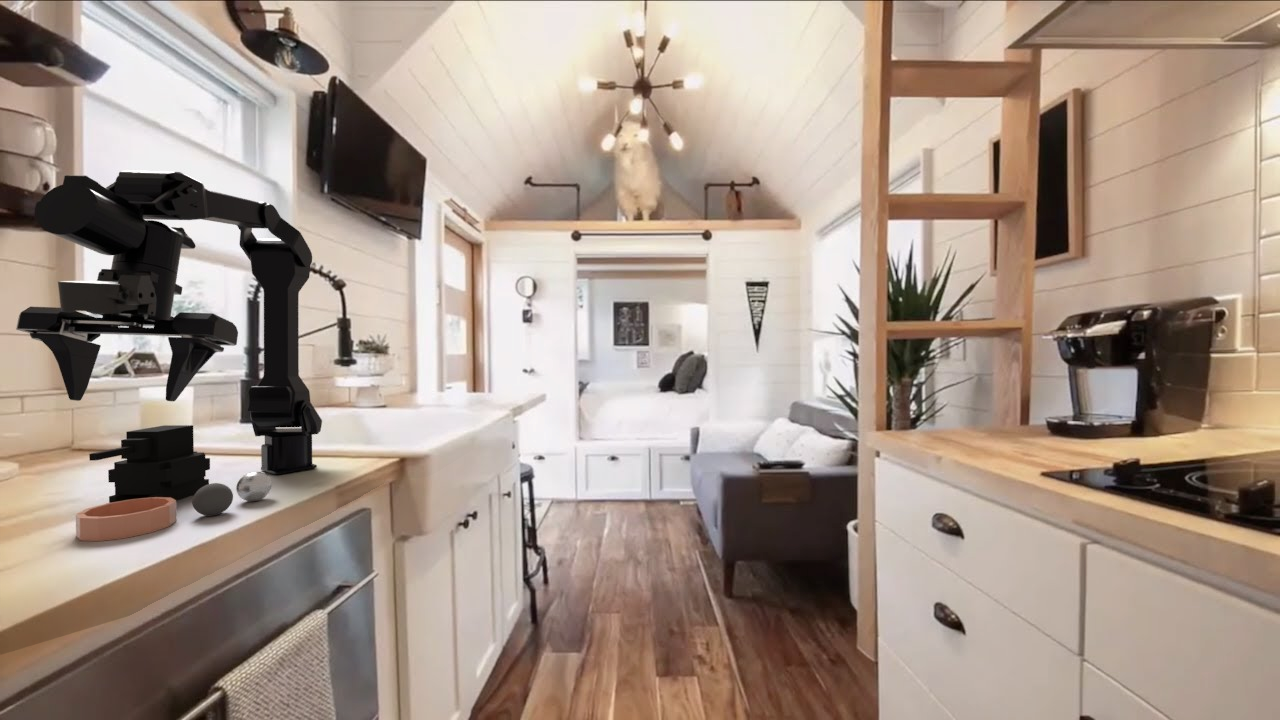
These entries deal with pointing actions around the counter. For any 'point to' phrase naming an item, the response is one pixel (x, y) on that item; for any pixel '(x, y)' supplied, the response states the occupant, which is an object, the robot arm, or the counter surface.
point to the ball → (212, 499)
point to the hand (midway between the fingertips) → (123, 400)
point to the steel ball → (254, 486)
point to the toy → (156, 464)
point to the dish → (125, 518)
